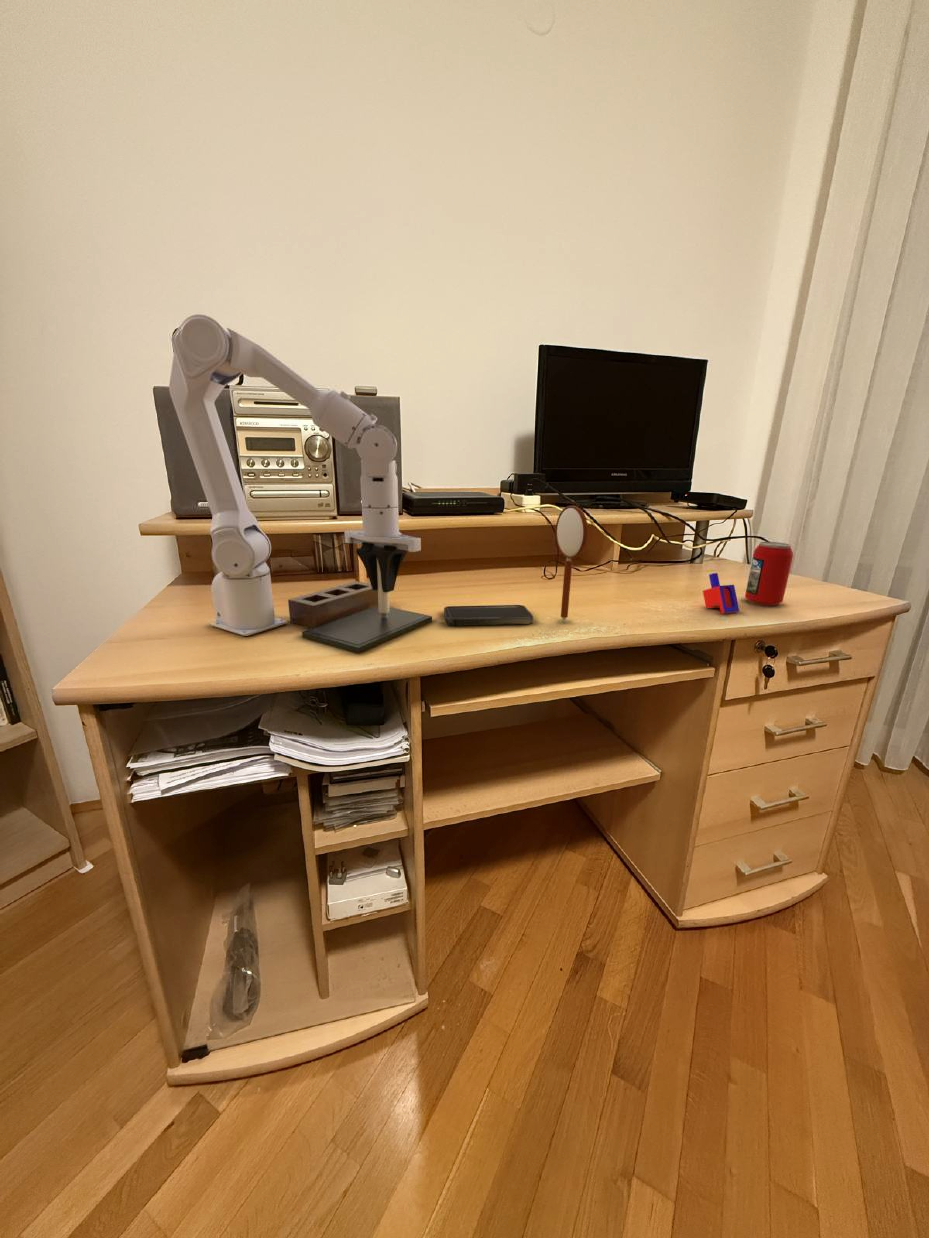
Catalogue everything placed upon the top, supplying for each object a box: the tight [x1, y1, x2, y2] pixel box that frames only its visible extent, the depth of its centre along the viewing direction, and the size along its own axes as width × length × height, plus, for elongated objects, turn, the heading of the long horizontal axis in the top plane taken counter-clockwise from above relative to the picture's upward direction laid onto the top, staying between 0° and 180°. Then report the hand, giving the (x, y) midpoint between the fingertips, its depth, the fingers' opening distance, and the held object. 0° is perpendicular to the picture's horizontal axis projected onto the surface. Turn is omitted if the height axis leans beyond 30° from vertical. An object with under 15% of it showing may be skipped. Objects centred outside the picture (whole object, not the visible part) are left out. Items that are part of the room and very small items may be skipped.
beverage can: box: [744, 541, 794, 607], centre depth 98 cm, size 7×7×12 cm
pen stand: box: [287, 580, 378, 629], centre depth 88 cm, size 6×16×4 cm, turn 148°
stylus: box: [377, 560, 390, 619], centre depth 81 cm, size 2×2×11 cm
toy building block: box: [702, 572, 740, 615], centre depth 94 cm, size 4×4×8 cm
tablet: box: [301, 606, 433, 655], centre depth 80 cm, size 12×18×1 cm, turn 148°
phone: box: [443, 604, 534, 627], centre depth 87 cm, size 8×1×15 cm
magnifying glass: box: [555, 505, 589, 623], centre depth 83 cm, size 9×2×20 cm, turn 21°
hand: (383, 590), depth 81 cm, fingers closed on stylus, 2 cm apart
